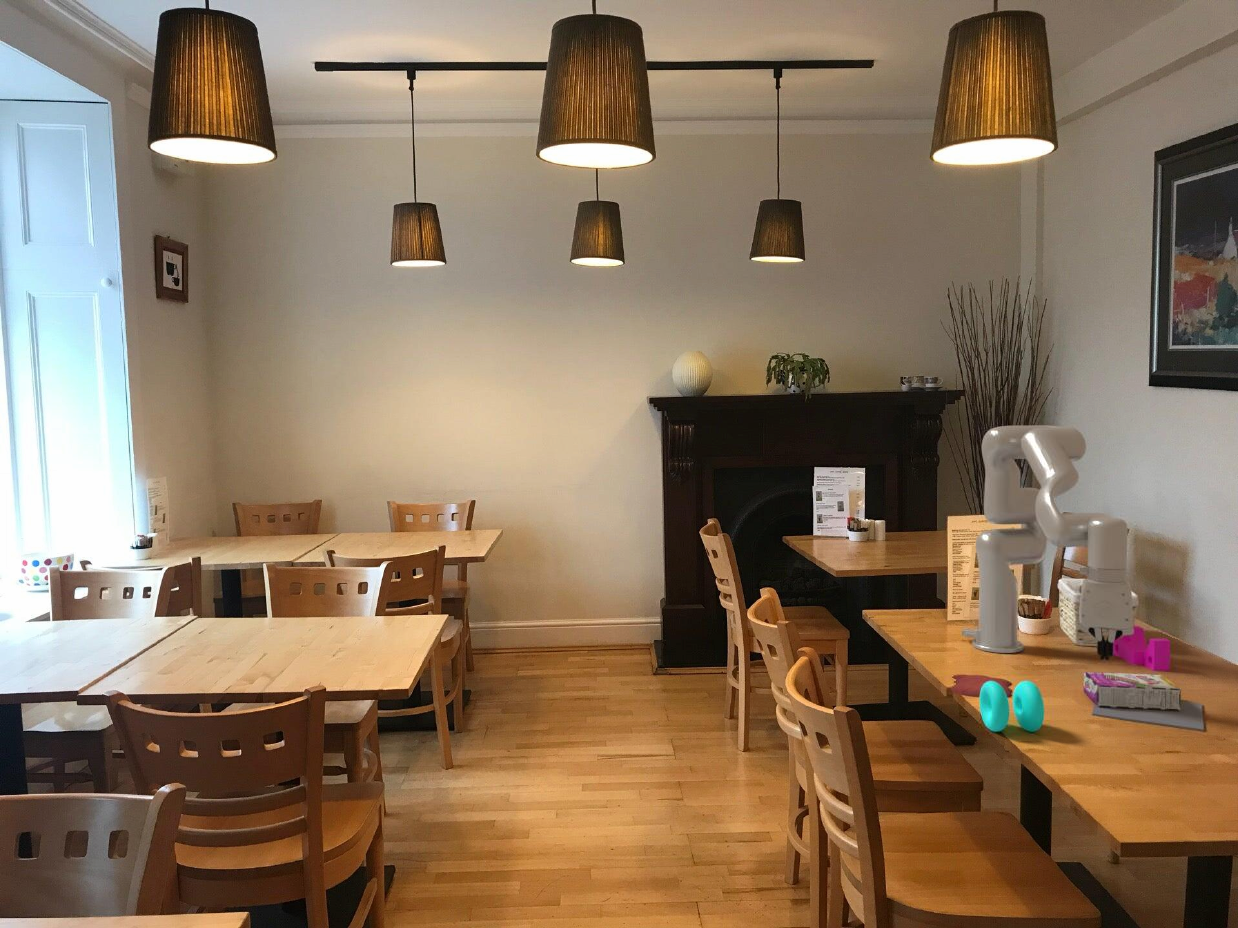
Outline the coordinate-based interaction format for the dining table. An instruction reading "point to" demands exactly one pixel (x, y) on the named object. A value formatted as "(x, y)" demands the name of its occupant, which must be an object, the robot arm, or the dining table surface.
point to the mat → (1158, 715)
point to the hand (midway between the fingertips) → (1105, 658)
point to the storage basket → (1070, 612)
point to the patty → (976, 684)
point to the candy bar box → (1132, 691)
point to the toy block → (1143, 650)
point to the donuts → (1024, 706)
